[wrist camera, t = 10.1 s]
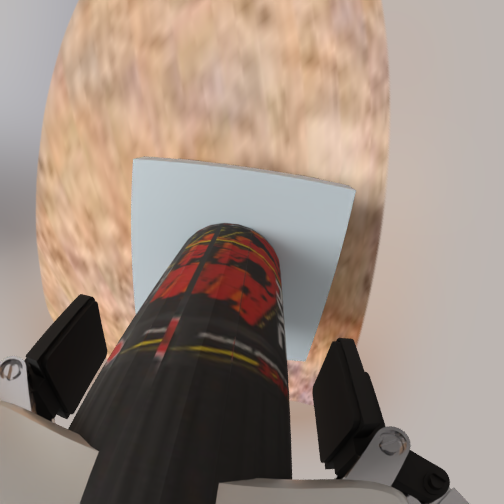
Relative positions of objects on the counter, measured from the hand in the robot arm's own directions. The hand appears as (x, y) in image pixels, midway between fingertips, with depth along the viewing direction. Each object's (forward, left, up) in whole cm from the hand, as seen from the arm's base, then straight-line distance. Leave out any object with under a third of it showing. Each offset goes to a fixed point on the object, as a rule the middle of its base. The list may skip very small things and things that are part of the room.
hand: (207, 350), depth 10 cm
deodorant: (0, 0, -7) cm, 7 cm away
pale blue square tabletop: (0, 0, -14) cm, 14 cm away
